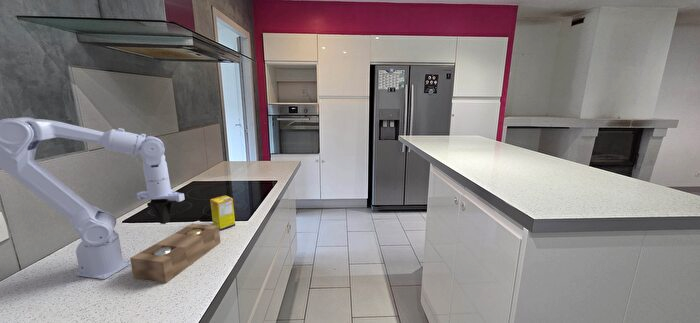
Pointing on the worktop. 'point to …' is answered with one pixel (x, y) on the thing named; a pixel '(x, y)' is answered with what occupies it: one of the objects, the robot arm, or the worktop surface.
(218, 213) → the supplement box
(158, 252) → the steel peg
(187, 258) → the walnut peg board
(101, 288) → the worktop surface
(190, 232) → the brass peg
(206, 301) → the worktop surface
